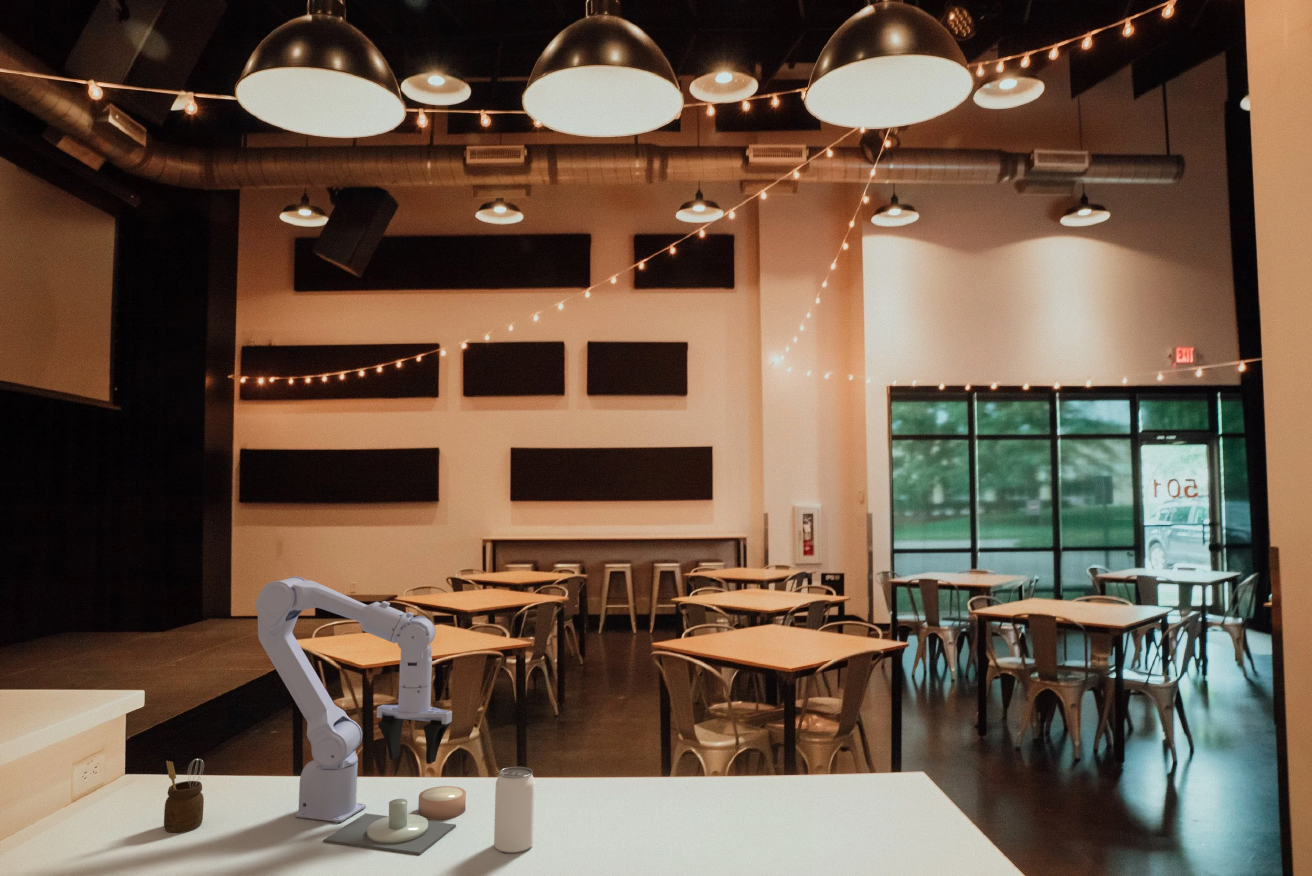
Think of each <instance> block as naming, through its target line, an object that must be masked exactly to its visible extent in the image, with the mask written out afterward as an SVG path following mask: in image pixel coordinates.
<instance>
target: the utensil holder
mask: <svg viewBox="0 0 1312 876" xmlns="http://www.w3.org/2000/svg"><path fill="white" fill-rule="evenodd" d="M195 761H196V764H195V765H196V767H195V769H194V770H195V771H194V772H193V775H194V776H193V779H192V780H191V776H192V775H191V774H192V773H191V771H192V768H193V767H191V766H193V765H194V763H195ZM199 761H200V762H201V767H202V768H200V771H199V772H201V773H202V774H201V773H198V774H199V775H198V778H197V779H200V776H202V775H203V770H204V768H205V766H204V764H205V763H204V761H202V759H201V758H195V759H193V760H192V762H189V766H188V768H189V769H187V772H188V775H189V780H187V781H186V780H185V781H180V782H175V781H176V780H175V779H177V775H176V771H175V766H174V762H173V761H168V760H166V761H165V762H166V768H167V772H168V773H167V774H168V778H169V779H170V780H171V783H172V784H171V785H170V786H169V787H168V789H167V796H168V797H167V798H166V800H165V803H164V810H163V811H164V813H163V815H164V816H163V828H164V831H165V832H166V833H172V834H179V833H186V832H189V831H192V830H193V831H194V830H195V829H197V828H199V827H200V826H201V825H202V823H203V820H204V819H203V818H204V805H205V804H204V802H205V801H204V794H203V793H202V791H203V785H202V782H201V781H200V780H195V779H196V778H195V777H196V776H197V774H196V772H198V769H197V768H198V766H199V764H198V762H199Z"/></svg>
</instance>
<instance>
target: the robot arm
mask: <svg viewBox="0 0 1312 876" xmlns="http://www.w3.org/2000/svg"><path fill="white" fill-rule="evenodd" d="M390 605H391V603H390V602H388V601H386V600H383V601H381V602H379V601H375V602H372V603H370V604H365V603H363V602H361V601H359V600H356V599H354V598H352V597H351V596H348V595H346V594H343V593H341V592H338V591H337V590H334V589H332V588H330V587H327V586H325V585H323V584H321V583H319V582H317V581H314V580H310V579H305V578H303V577H301V576H296V575H295V576H290V577H287V578H285V579H281V580H275V581H274V580H273V581H270V582H268V583H267V584H265V585H264V586H263V587H262V588H261V590H260V592H259V594H258V597H257V598H256V601H255V603H254V608H255V610H256V612H257V636H258V641H259V643H260V644H261V646H262V648H263V649H264V652H265V653H266V655H267V657H268V658H269V659H270V661H271V663H272V665H273V666H274V668H275V670H276V672H277V673H278V675H279V677H280V678H281V680H282V682H283V684H284V685H285V687H286V689H287V690H288V691H289V694H290V695H291V697H292V698H293V700H294V702H295V704H296V706H297V707H298V709H299V711H300V712H301V714H302V716H303V717H304V719H305V721H306V723H307V725H306V729H307V730H306V737H307V739H308V741H309V743H310V746H311V756H312V759H313V760H310V761H308V763H307V764H305V766H304V767H303V769H302V771H301V774H300V777H299V787H298V788H299V793H298V812H296V813H295V817H296V818H304V819H311V820H319V821H327V822H335V823H342V822H343V821H345V820H348V818H350V817H352V816H353V815H355V814H357V813H359V812H360V811H362V810H363V809H366V807H367V804H365V803H359V802H357V792H358V789H357V788H358V787H357V786H358V765H359V764H358V762H359V758H358V755H357V751H356V750H357V748H359V746H360V744H361V743H362V739H363V730H362V728H361V726H360V725H359V724H358V722H356V721H355V720H353V719H351V717H349V716H348V715H347V713H346V711H345V710H343V709H342V708H341V707H338V706H337V705H336V704H335V703H334V701H333V699H332V698H331V696H330V695H329V692H328V691H327V689H326V688H325V686H324V684H323V683H322V681H321V679H320V677H319V676H318V674H317V672H316V671H315V669H314V668H313V666H312V664H311V662H310V661H309V658H308V657H307V655H306V654H305V652H304V651H303V649H302V647H301V645H300V644H299V642H298V640H297V639H296V637H295V635H294V634H293V631H294V628H295V626H296V623H297V620H298V618H299V616H300V615H301V613H302V612H303V611H304V610H305V611H306V610H310V609H316V608H317V609H321V610H324V611H327V612H330V613H333V614H335V615H339V616H341V617H344V618H347V619H350V620H353V621H355V622H358V624H359V625H360V628H361V630H362V631H363V632H365V633H368V634H370V635H373V636H374V637H377V638H380V639H382V640H385V641H387V642H391V643H393V644H396V643H397V645H398V648H399V649H400V660H399V679H398V682H399V683H398V702H397V703H398V704H381V705H379V706H377V707H376V718H380V719H381V720H380V721H377V726H378V728H379V730H380V732H381V733H382V736H383V738H384V741H385V743H386V744H385V745H386V748H387V752H388V757H389V760H391V761H393V760H395V759H397V758H399V757H400V753H401V739H402V738H401V737H402V731H403V730H402V729H403V726H404V721H405V720H410V721H418V722H419V721H421V722H430V723H428V724H425V725H424V726H423V729H422V730H423V731H424V736H425V747H426V748H425V762H426V764H427V765H431V764H432V763H434V762H437V761H436V760H437V756H438V751H439V748H440V745H441V743H442V740H443V737H444V736H445V733H446V732H447V730H448V728H449V727H450V723H452V721H453V711H452V710H446V709H442V708H439V707H433V706H431V701H432V700H431V699H432V697H431V696H432V673H433V671H432V669H433V667H432V665H433V659H432V655H433V653H432V652H433V651H432V649H433V646H432V642H434V640H435V637H436V633H437V632H436V627H435V625H434V623H433V621H432V620H430V619H429V618H427V617H426V616H425V615H418V616H414V615H415V614H414V613H413V612H410V611H408V612H407V613H406V612H404V611H402V610H399V609H397V608H394V607H391V606H390Z"/></svg>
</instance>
